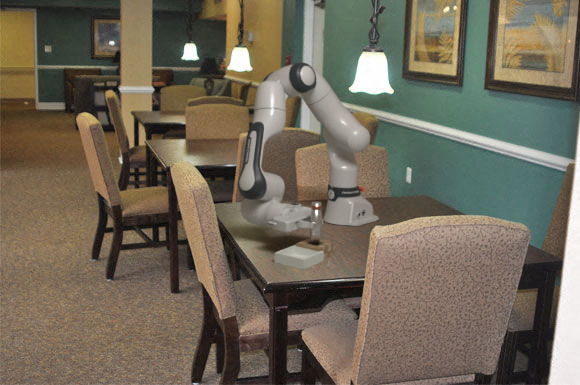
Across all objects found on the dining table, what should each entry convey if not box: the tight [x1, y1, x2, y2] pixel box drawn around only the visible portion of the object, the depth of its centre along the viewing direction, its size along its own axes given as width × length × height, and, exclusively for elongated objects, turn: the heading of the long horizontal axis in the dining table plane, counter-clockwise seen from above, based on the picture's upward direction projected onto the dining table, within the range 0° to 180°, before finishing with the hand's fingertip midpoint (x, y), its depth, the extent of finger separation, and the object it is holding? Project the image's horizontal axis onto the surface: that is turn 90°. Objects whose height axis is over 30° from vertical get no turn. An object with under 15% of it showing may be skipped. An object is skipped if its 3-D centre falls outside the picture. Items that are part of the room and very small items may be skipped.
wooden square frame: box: [295, 237, 335, 260], centre depth 212 cm, size 9×9×4 cm
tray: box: [273, 244, 324, 271], centre depth 205 cm, size 11×11×3 cm
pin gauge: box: [309, 200, 323, 246], centre depth 211 cm, size 3×3×16 cm
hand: (317, 224), depth 210 cm, fingers closed on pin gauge, 3 cm apart
